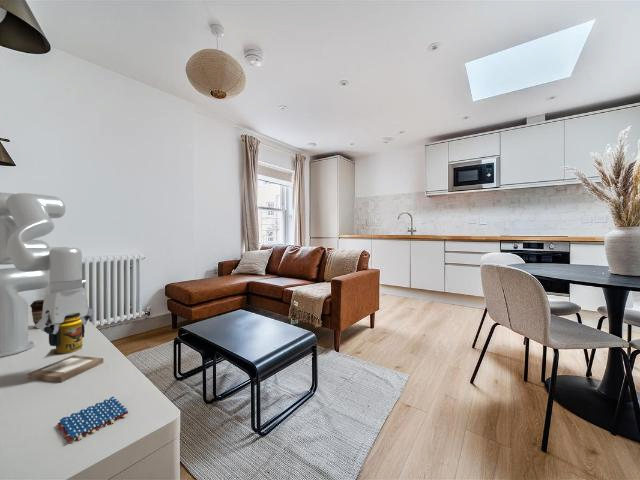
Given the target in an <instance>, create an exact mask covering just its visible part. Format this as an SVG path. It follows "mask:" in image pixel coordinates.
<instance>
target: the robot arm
mask: <svg viewBox="0 0 640 480" xmlns="http://www.w3.org/2000/svg"><path fill="white" fill-rule="evenodd" d="M65 213H66V205H65V202H63V200H62V199H61V198H59V197H57V196H54V195H46V194H37V193H27V192H21V193H20V192H18V193H12V192H11V193H10V192H0V266H1V265H2V266H3V265H4V266H5V265H13V266H14V267H8V268H7V267H5V268H0V358H2V357H6V356H11V355H15V354H19V353H22V352H24V351H28V350H30V349H31V348H33V347H34V346H35V342H34V341H33V340H31V341H29V307H28V306H29V305H28V302H27V300H26V299H25V298H24V297H23V296H21V295H19V294H18V293H22V292H26V291H36V290H41V289H46V288H49V291H47V292H46V293H45V296H44V299H43V300H44V303H43V311H42V318H41V319H40V321H39V322H38V323H37V324H36V325H35V324H34V326H35V327H36V328H35V329H39V330H41V331H42V332H45V333H46V334H47V335H48V344H49V346H51V347H56V346H59V345H60V333H57V332H58V330H59V327H60V325H61V323H63V322H64V319H65V316H68V315H73V314H76V313H80V320H81V321H82V339H83V338H85V334H86V333H85V325H87V322H88V321H89V320H90V319H91V316H92V315H93V314H94V313H95V310H94V309H92V308H91V307H89V305H88V304H89V303H88V297H87V292H86V289H85V287H83V285H84V284H86V283H87V282H86V280H85V279H83V255H82V254H83V253H82V250H81V249H80V248H78V247H66V246H55V247H54V246H52V247H51V246H49V244H48V243H47V242H46V241H44V240H42V239H38V238H42V237H45V236H46V235H49V234H50V233H51V232H53V231H54V228H55V223H54V222H53V220H52V219H59V218H60V219H61V218H62V217H63V216H64V215H65ZM49 323H50V324H49ZM45 324H49V326H46V325H45Z"/></svg>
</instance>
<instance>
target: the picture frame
mask: <svg viewBox="0 0 640 480" xmlns="http://www.w3.org/2000/svg"><path fill="white" fill-rule="evenodd" d="M102 364H104V358H103V357H94V356H85V355H74V354H73V355H70V356H68V357H65V358H63V359H61V360H58V361H56V362H52V363H50V364H48V365H45V366H43V367H40V368H38V369H36V370H33V371H30V372H28V375H27V376H28V379H34V380H41V381H47V382H56V383H63V382H65V381H67V380H69V379H71V378H73V377H76V376H78V375H80V374H82V373H85V372H87V371H88V370H91V369H93V368H96V367H97V366H99V365H102Z"/></svg>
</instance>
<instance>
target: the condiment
mask: <svg viewBox="0 0 640 480" xmlns="http://www.w3.org/2000/svg"><path fill="white" fill-rule="evenodd" d="M57 333H60V345H59V346H55V348H52V349H50V350H49V352H47V354H46V355H45V356H44V357H43V359H48V358H52V357H58V356H65V355H71V354H75V353H80V352H82V350H83V349H84V347H85V346H86V343H83V338H82V321H81V320H80V313H76V314H73V315H68V316H65V319H64V322H63V323H61V325H60V327H59V330H58V332H57Z"/></svg>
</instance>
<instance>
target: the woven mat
mask: <svg viewBox="0 0 640 480" xmlns="http://www.w3.org/2000/svg"><path fill="white" fill-rule="evenodd" d="M128 413H129V411H128V410H127V407H125V405H124V404H123V405H122V402H121V403H120V400H118V399H117V398H115V396H111V397H110V398H107V399H103V400H102V401H101V402H96V403H95V404H92V405H89V406H88V407H86V408H84V409H83V408H82V409H80V410H78V411H77V412H73V413H71V414H69V415H68V416H64V417H62V418H60V419H59V422H57V426H58V430H60V432H61V433H62V434H63V436H65V437H64V440H65V439H66V442H68V443H70V445H73V444H75V441H77V440H78V441H80V440H82V439H83V438H84V437H85V438H87V437H90V436H89V434H90V433H91V434H95V433H96V430H98V429H100V430H102V429H101V428H103V426H104V428H107V425H112V423H113V424H114V421H115V420H118V419H119V420H118V421H117V422H119V421H120V418H122V416H123V418H122V419H126V417H127V416H128V415H127V414H128ZM108 421H109V422H108ZM115 422H116V421H115ZM110 423H111V424H110ZM106 424H107V425H106Z"/></svg>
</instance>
